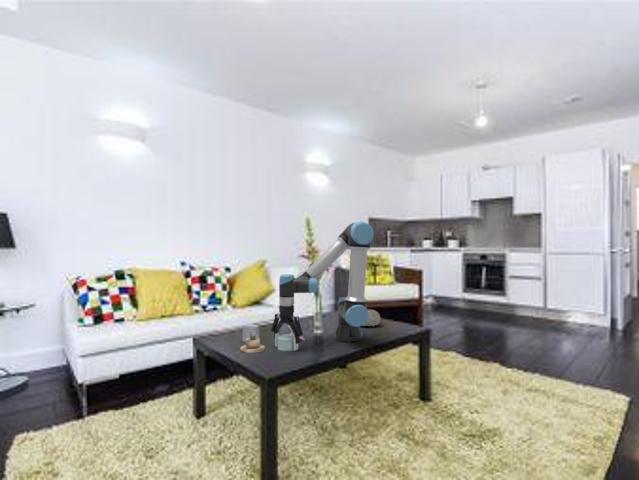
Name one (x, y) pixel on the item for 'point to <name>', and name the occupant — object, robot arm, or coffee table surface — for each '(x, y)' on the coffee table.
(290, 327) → the lily
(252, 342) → the stud pedestal
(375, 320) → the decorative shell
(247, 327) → the medicine box
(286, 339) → the cap
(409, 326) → the coffee table surface
